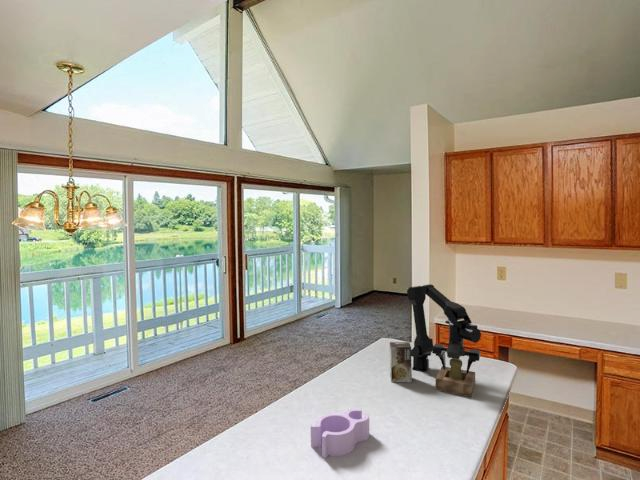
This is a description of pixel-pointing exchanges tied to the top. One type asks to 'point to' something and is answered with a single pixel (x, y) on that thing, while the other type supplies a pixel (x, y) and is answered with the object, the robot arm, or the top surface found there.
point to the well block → (455, 382)
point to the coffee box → (400, 362)
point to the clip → (340, 432)
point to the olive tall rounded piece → (455, 369)
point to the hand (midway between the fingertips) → (455, 371)
